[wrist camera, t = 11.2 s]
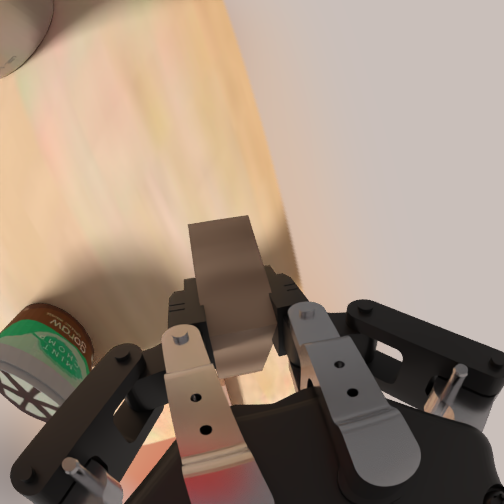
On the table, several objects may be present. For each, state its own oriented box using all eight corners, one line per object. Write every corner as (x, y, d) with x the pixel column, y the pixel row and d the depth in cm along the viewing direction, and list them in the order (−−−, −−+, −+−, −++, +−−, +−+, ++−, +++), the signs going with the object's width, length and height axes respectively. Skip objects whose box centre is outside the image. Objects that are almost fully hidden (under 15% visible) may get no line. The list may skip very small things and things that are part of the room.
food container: (127, 340, 25) (114, 424, 16) (101, 374, 25) (87, 451, 16) (22, 266, 20) (-35, 327, 11) (6, 309, 21) (-38, 373, 11)
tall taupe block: (162, 228, 12) (173, 342, 9) (272, 211, 13) (310, 315, 10) (198, 337, 23) (209, 394, 21) (254, 326, 24) (269, 382, 21)
